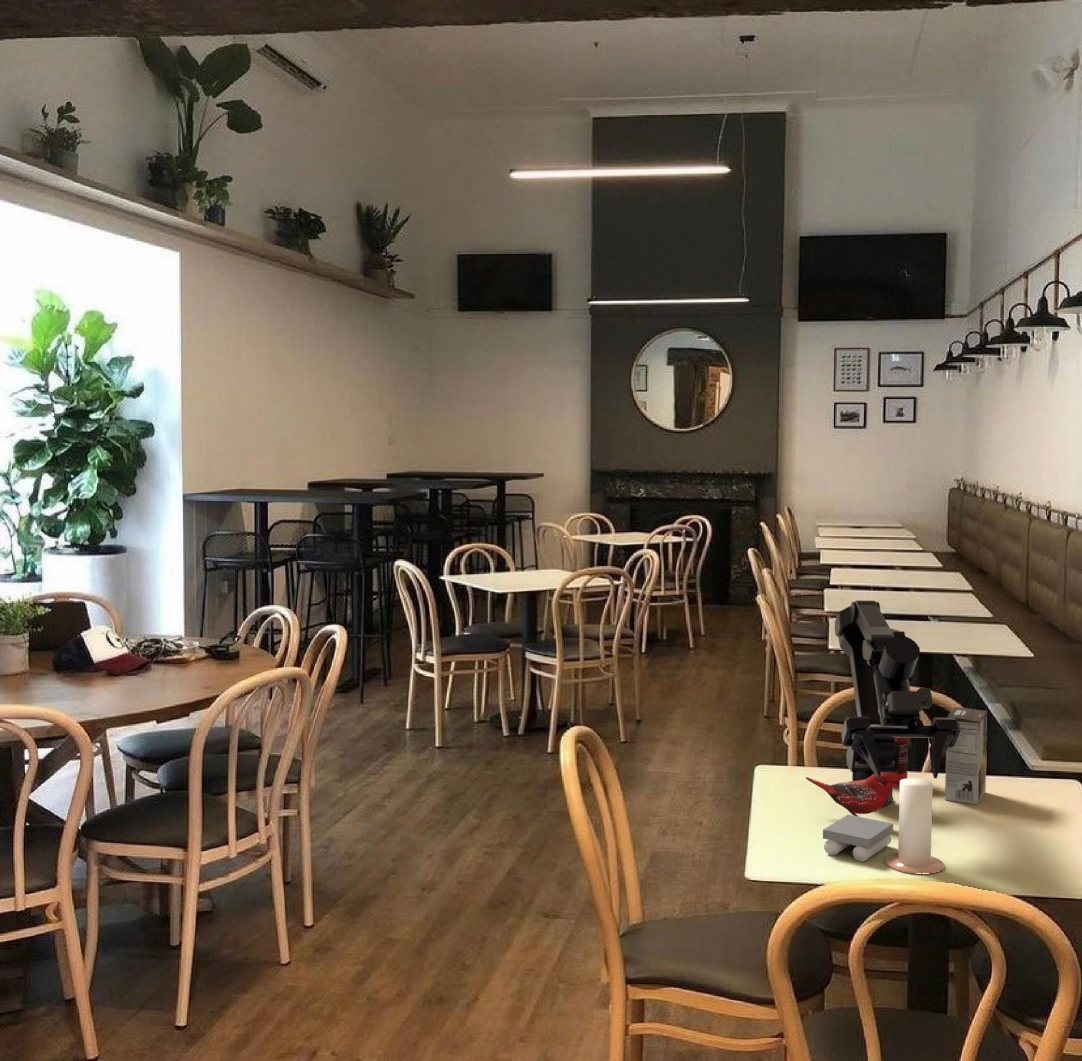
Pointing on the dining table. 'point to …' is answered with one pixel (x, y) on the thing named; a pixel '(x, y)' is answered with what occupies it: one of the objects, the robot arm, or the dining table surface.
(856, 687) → the robot arm
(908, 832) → the post
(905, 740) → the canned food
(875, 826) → the slab on rollers
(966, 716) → the coffee box
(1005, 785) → the dining table surface
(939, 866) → the pad
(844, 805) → the decorative bird figurine
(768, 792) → the dining table surface
